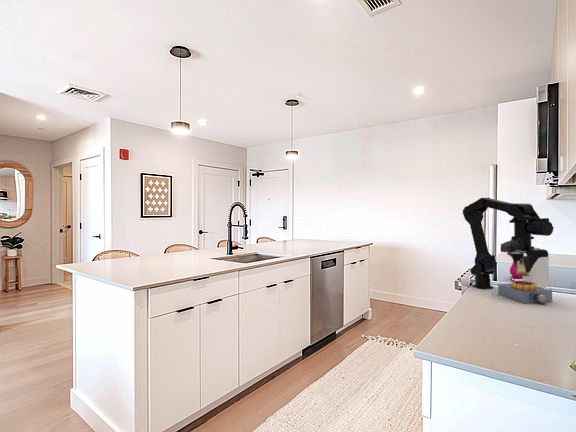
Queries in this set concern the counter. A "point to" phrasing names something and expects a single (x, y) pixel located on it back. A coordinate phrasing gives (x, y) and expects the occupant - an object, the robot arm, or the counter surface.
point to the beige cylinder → (521, 268)
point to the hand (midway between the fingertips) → (523, 271)
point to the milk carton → (539, 272)
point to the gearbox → (525, 292)
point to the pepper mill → (514, 272)
